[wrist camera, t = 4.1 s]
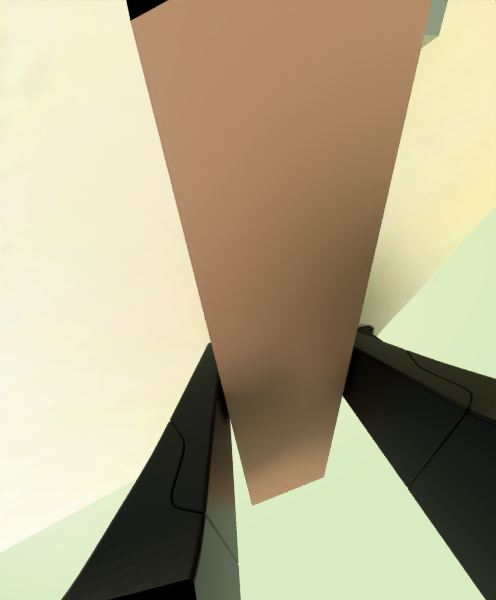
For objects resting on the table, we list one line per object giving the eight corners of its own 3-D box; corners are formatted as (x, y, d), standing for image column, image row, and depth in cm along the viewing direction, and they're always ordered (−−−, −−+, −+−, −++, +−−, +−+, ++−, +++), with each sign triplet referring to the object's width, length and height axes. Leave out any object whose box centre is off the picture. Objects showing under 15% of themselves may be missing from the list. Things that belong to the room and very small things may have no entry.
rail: (290, 406, 13) (323, 477, 10) (237, 423, 13) (252, 505, 9) (296, 102, 6) (445, -61, 2) (165, 104, 5) (95, -119, 2)
